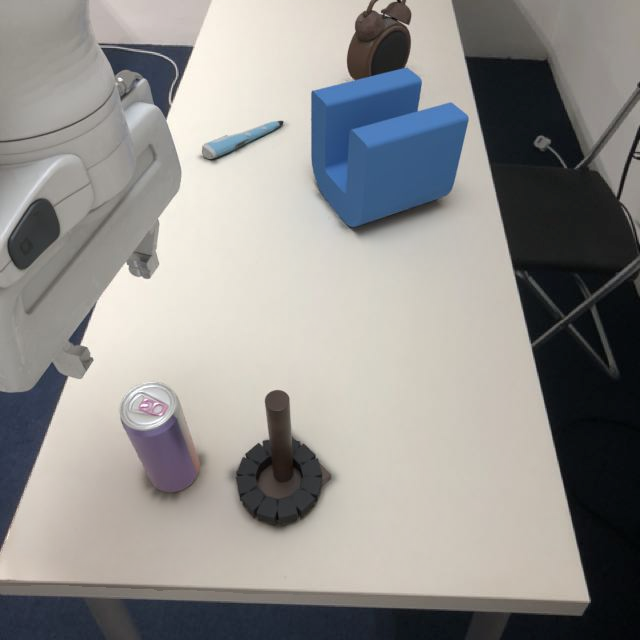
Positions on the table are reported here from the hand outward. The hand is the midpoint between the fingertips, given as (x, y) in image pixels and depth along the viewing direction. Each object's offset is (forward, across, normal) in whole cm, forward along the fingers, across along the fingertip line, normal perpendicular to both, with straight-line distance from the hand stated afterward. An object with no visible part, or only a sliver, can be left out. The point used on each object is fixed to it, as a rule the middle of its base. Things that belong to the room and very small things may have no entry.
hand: (114, 316), depth 40 cm
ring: (+32, -5, +9) cm, 34 cm away
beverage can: (+33, -3, -3) cm, 34 cm away
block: (+33, -62, +8) cm, 71 cm away
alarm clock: (+33, -99, 0) cm, 105 cm away
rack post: (+33, -6, +9) cm, 35 cm away
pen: (+33, -71, -21) cm, 81 cm away
